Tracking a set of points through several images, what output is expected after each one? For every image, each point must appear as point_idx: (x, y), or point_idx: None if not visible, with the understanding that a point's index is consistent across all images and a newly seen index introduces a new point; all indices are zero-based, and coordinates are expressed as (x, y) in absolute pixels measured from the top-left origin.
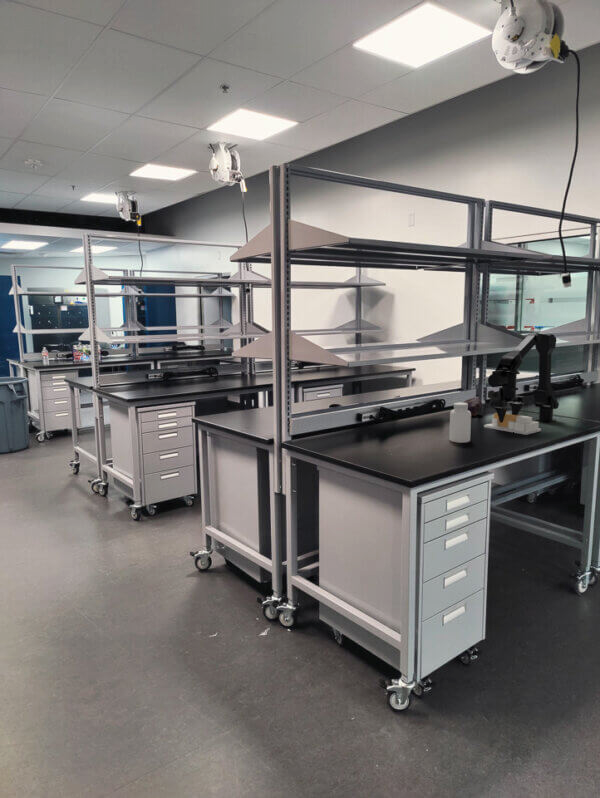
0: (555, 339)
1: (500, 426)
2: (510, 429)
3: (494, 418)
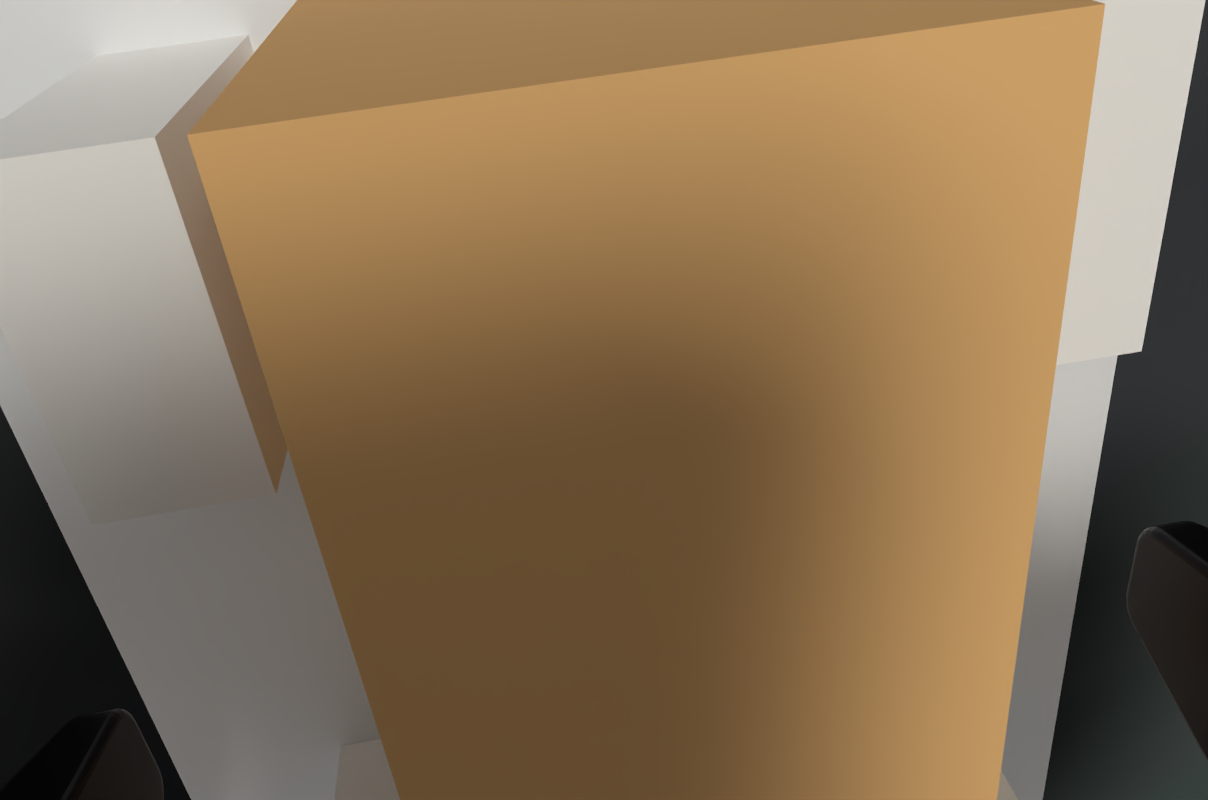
0: None
1: None
2: None
3: (133, 241)
